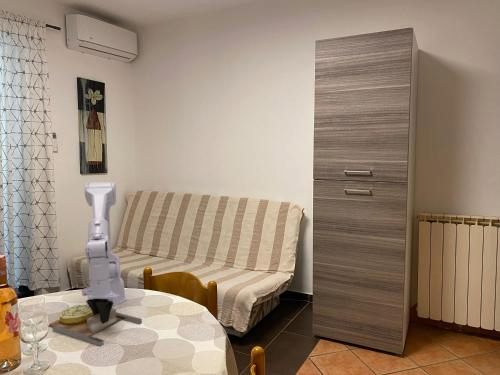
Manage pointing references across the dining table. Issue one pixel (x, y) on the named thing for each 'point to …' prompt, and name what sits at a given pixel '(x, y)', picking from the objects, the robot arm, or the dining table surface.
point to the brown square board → (90, 324)
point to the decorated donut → (76, 315)
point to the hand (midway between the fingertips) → (102, 321)
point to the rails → (89, 338)
